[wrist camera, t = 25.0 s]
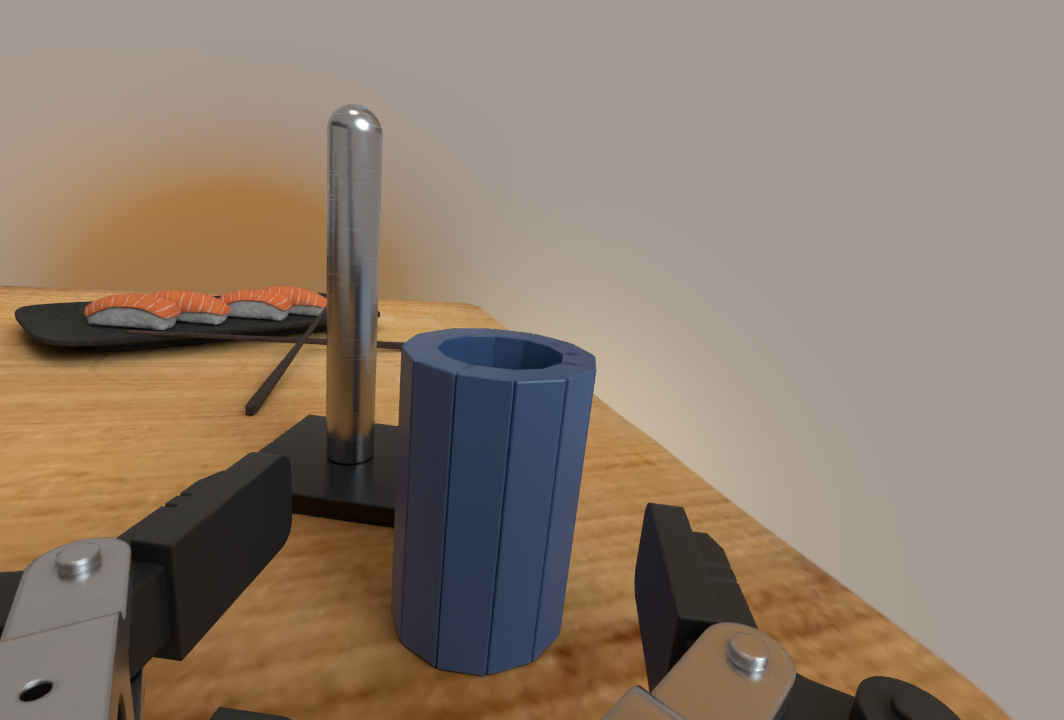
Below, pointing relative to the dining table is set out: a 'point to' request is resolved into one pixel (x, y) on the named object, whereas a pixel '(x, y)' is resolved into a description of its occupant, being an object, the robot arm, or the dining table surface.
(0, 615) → the robot arm
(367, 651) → the dining table surface
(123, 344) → the sushi plate
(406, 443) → the blue fluted sleeve
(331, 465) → the peg on square base
